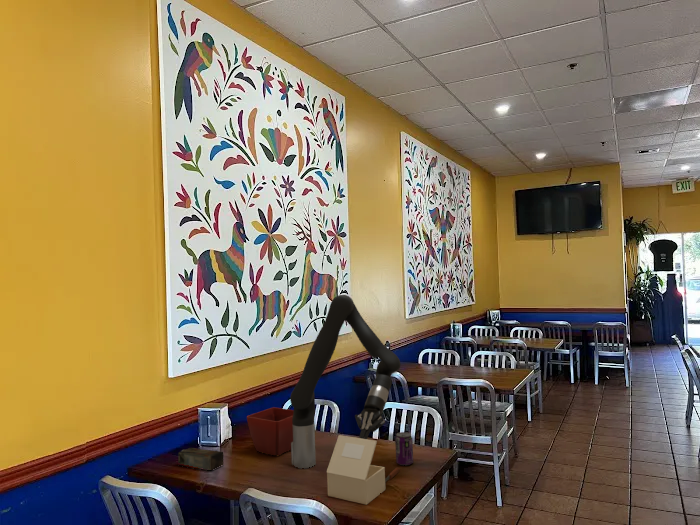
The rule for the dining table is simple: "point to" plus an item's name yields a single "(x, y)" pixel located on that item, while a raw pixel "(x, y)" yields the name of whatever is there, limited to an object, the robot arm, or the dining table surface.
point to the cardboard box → (357, 486)
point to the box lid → (352, 457)
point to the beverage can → (404, 448)
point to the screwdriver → (392, 474)
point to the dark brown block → (201, 458)
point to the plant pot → (271, 430)
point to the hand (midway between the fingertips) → (362, 440)
